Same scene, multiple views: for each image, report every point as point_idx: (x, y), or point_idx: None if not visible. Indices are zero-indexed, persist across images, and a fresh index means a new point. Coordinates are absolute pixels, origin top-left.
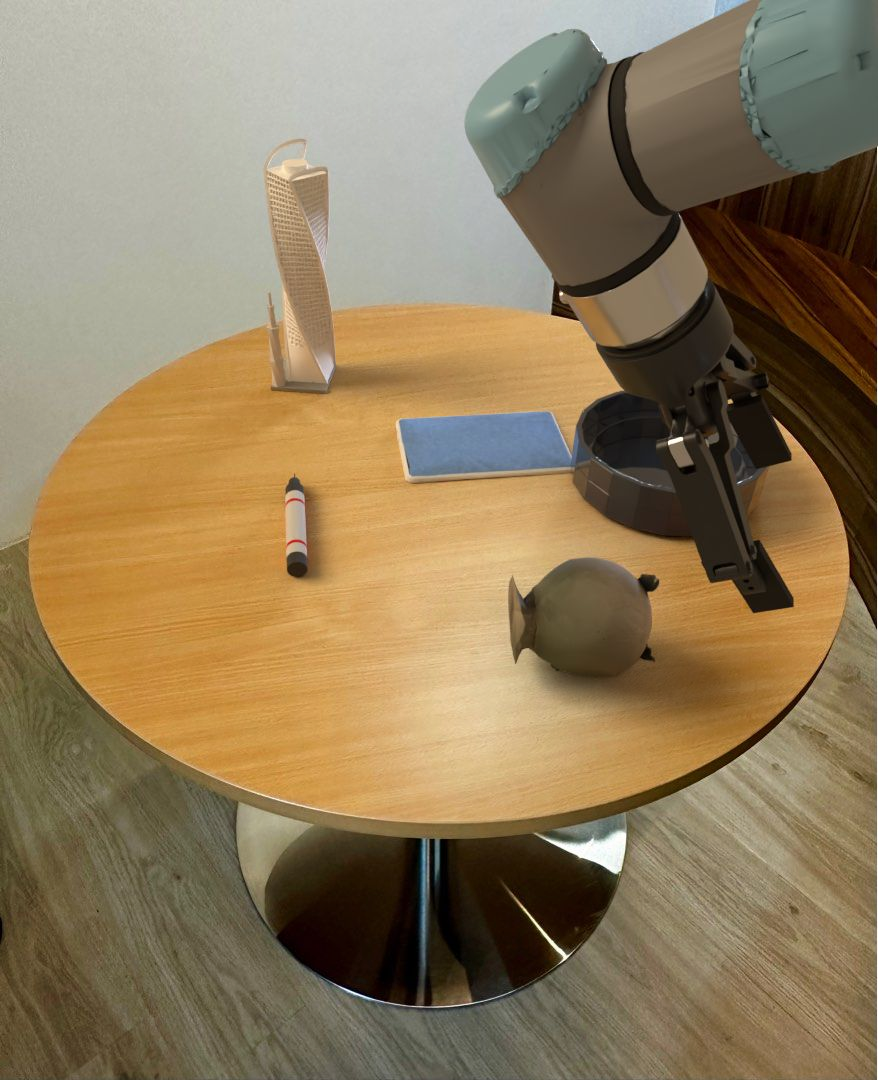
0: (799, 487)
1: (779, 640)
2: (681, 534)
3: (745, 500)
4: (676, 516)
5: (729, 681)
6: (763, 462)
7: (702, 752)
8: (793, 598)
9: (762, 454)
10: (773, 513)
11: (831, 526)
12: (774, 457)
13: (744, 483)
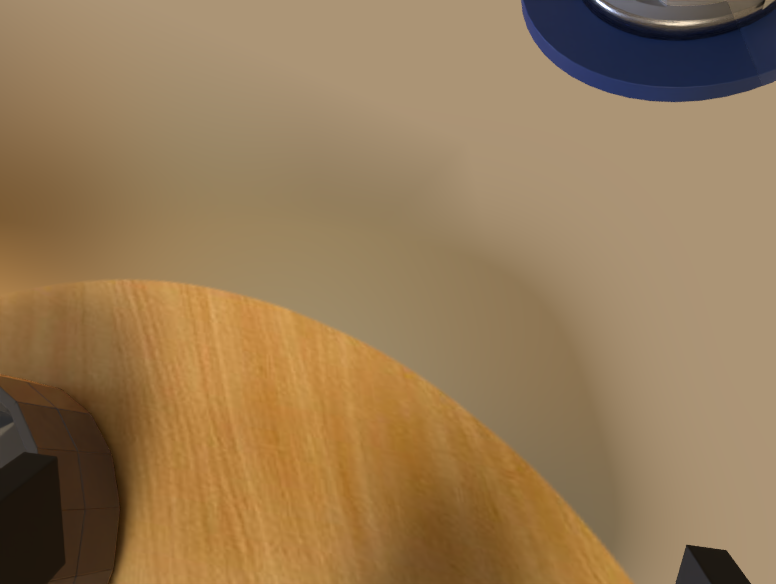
0: (29, 315)
1: (343, 397)
2: (115, 535)
3: (58, 420)
4: (81, 558)
5: (440, 495)
6: (46, 550)
7: (609, 571)
8: (688, 545)
9: (14, 574)
10: (78, 363)
11: (112, 283)
12: (35, 522)
13: (25, 429)
